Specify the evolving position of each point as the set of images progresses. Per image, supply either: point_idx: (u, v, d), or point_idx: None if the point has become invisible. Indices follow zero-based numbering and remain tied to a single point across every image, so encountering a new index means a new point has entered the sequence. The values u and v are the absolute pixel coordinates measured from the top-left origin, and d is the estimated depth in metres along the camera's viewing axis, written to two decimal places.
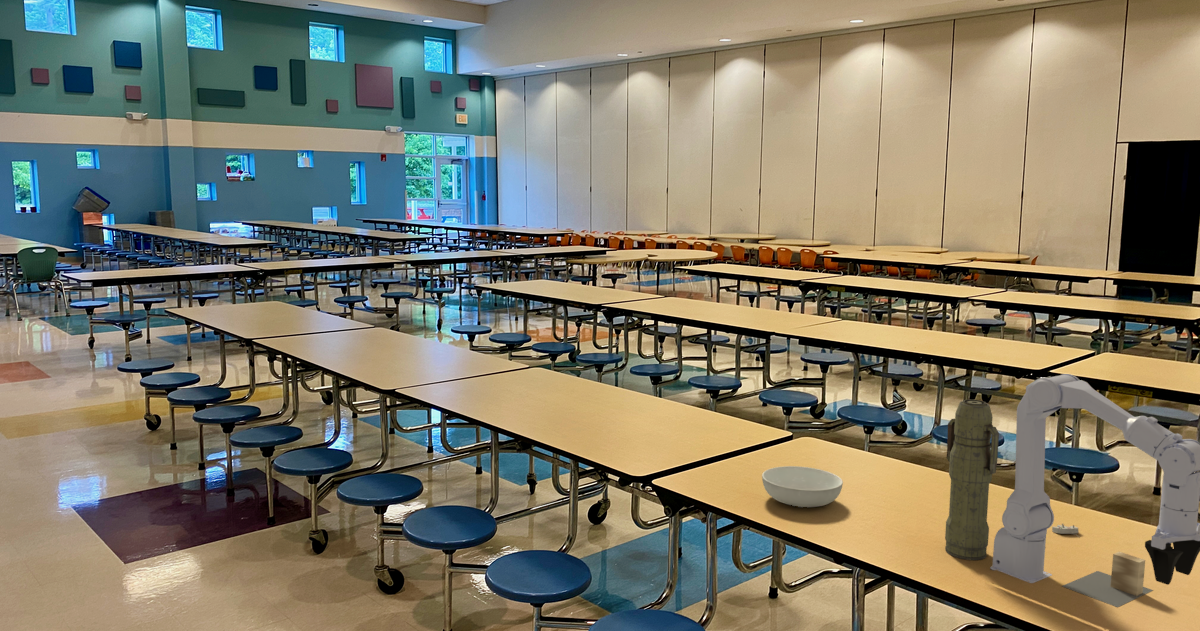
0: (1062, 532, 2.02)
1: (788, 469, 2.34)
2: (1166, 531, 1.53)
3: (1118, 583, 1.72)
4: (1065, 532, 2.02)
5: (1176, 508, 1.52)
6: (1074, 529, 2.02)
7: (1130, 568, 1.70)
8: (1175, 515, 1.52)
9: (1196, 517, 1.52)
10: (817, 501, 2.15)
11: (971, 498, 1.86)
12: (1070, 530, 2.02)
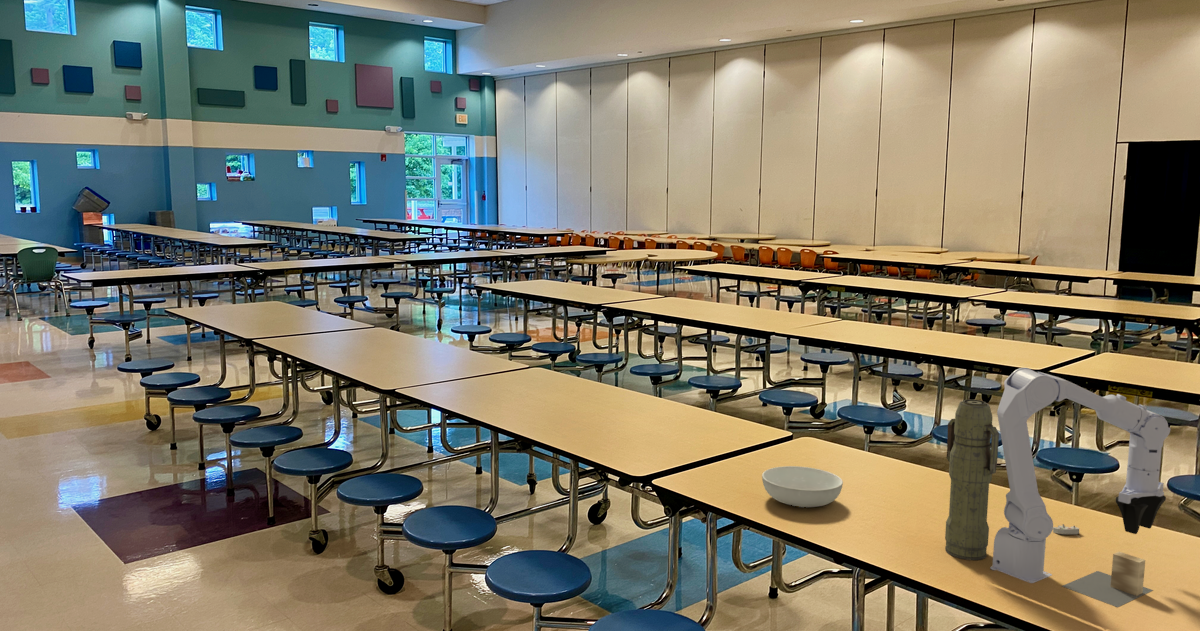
0: (1063, 533, 2.02)
1: (788, 469, 2.34)
2: (1132, 488, 1.76)
3: (1118, 583, 1.72)
4: (1066, 533, 2.02)
5: (1155, 469, 1.74)
6: (1075, 529, 2.02)
7: (1130, 568, 1.70)
8: (1139, 474, 1.75)
9: (1157, 476, 1.74)
10: (817, 501, 2.15)
11: (971, 498, 1.86)
12: (1071, 531, 2.02)
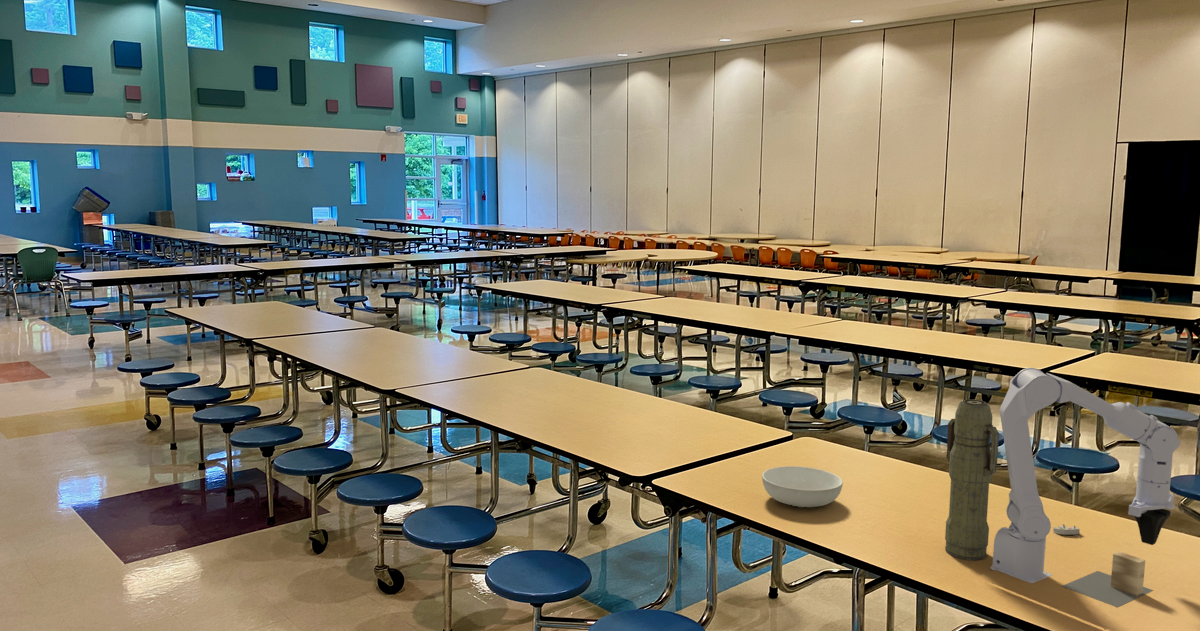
0: (1063, 533, 2.02)
1: (788, 469, 2.34)
2: (1142, 501, 1.73)
3: (1118, 583, 1.72)
4: (1066, 533, 2.02)
5: (1163, 482, 1.70)
6: (1075, 530, 2.02)
7: (1130, 568, 1.70)
8: (1149, 487, 1.71)
9: (1168, 488, 1.71)
10: (817, 501, 2.15)
11: (971, 498, 1.86)
12: (1071, 531, 2.02)
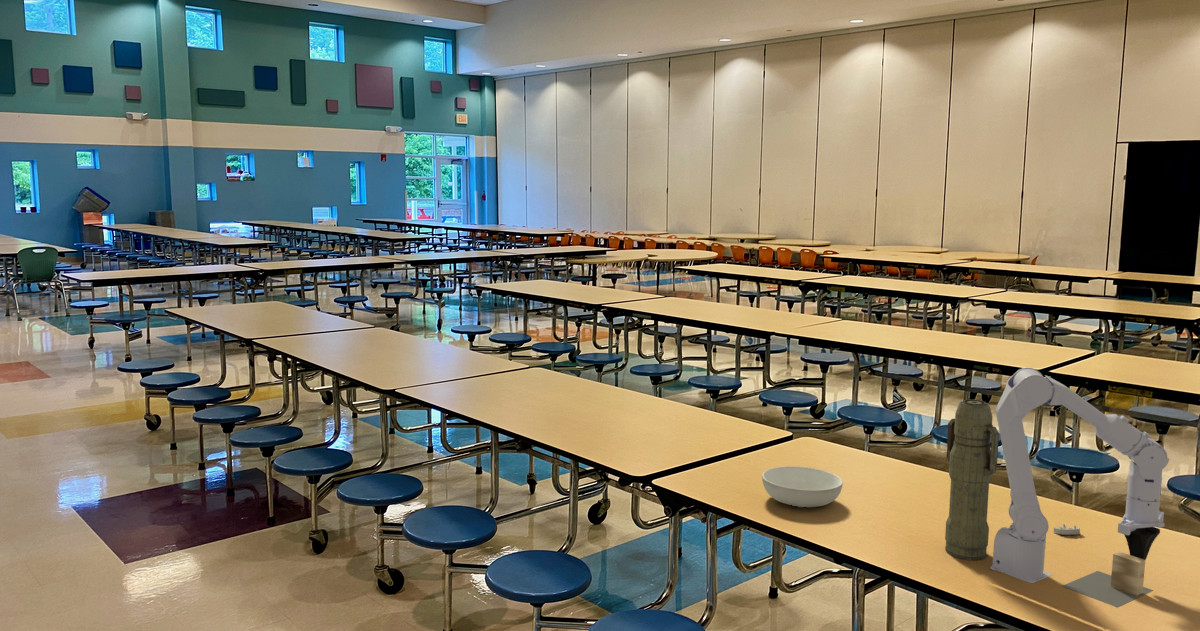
0: (1063, 533, 2.02)
1: (788, 469, 2.34)
2: (1131, 519, 1.71)
3: (1118, 583, 1.72)
4: (1066, 533, 2.02)
5: (1151, 500, 1.69)
6: (1075, 530, 2.02)
7: (1130, 568, 1.70)
8: (1139, 505, 1.70)
9: (1158, 506, 1.69)
10: (817, 501, 2.15)
11: (971, 498, 1.86)
12: (1071, 531, 2.02)
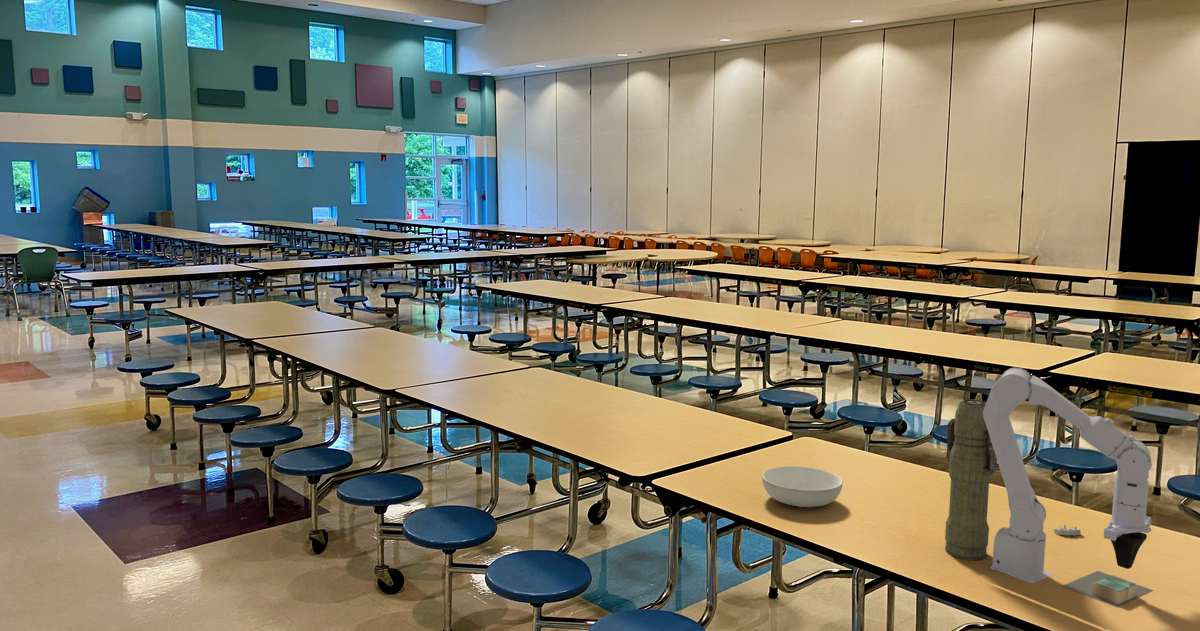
0: (1064, 534, 2.02)
1: (788, 469, 2.34)
2: (1118, 524, 1.68)
3: None
4: (1067, 534, 2.01)
5: (1134, 504, 1.66)
6: (1076, 531, 2.02)
7: None
8: (1125, 510, 1.67)
9: (1144, 511, 1.67)
10: (817, 501, 2.15)
11: (971, 498, 1.86)
12: (1072, 532, 2.01)
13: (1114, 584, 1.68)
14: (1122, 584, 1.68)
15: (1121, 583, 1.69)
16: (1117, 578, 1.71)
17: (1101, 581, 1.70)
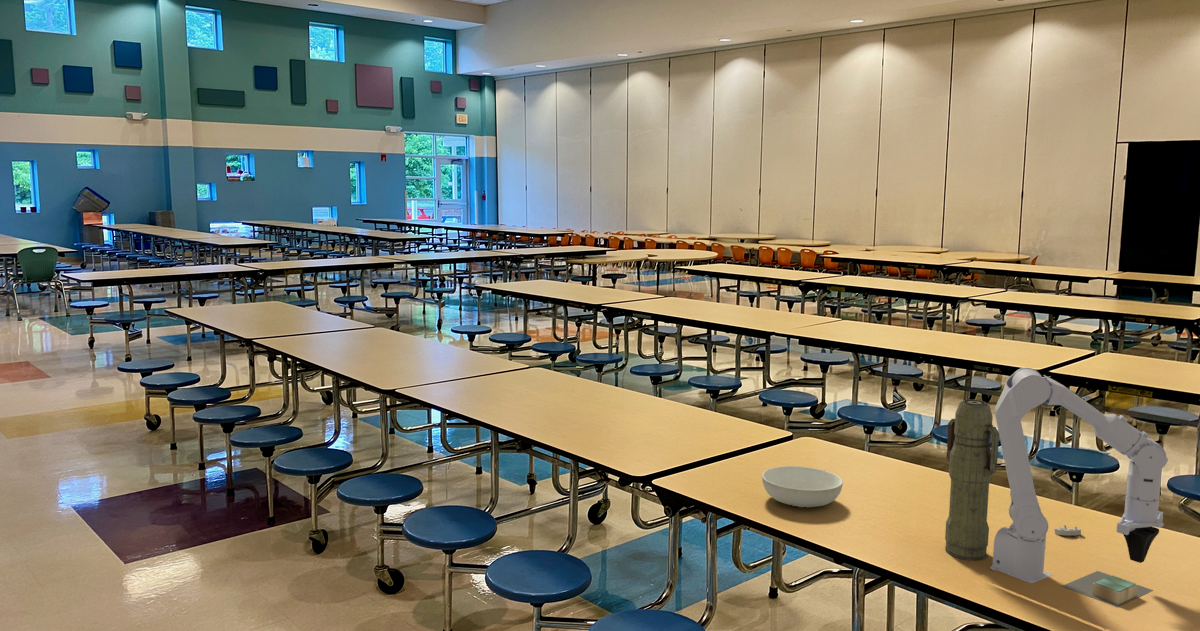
0: (1064, 534, 2.01)
1: (788, 469, 2.34)
2: (1130, 519, 1.71)
3: None
4: (1067, 534, 2.01)
5: (1150, 499, 1.69)
6: (1076, 531, 2.01)
7: None
8: (1138, 504, 1.70)
9: (1157, 506, 1.69)
10: (817, 501, 2.15)
11: (971, 498, 1.86)
12: (1072, 532, 2.01)
13: (1114, 584, 1.68)
14: (1122, 584, 1.68)
15: (1121, 583, 1.69)
16: (1117, 578, 1.71)
17: (1101, 581, 1.70)
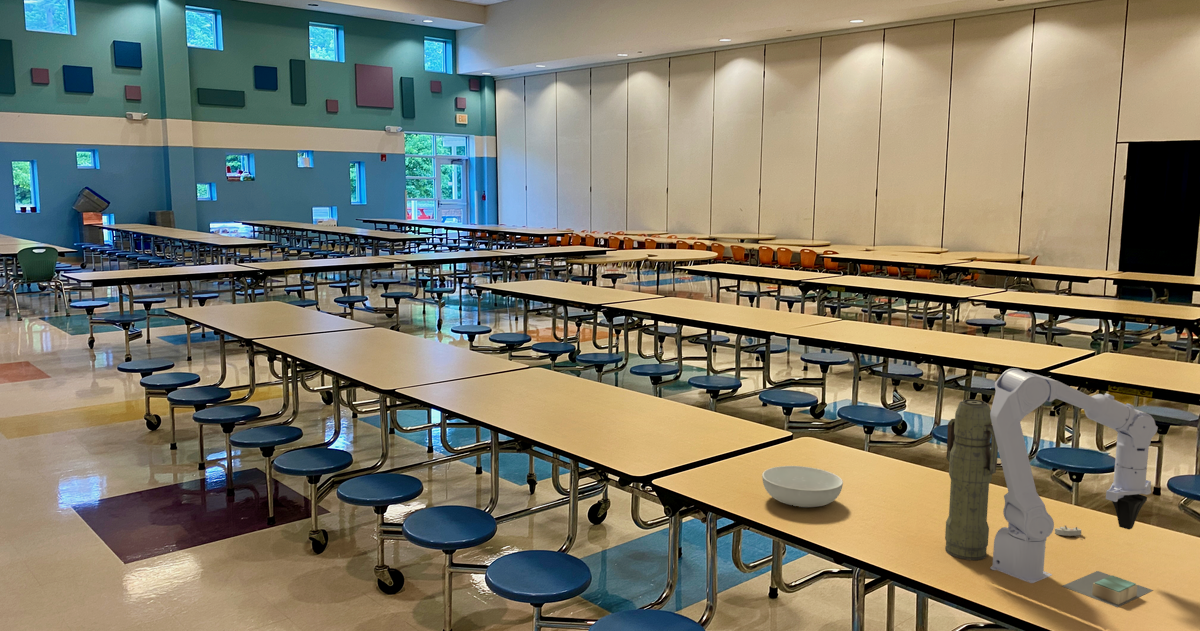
0: (1065, 534, 2.01)
1: (789, 469, 2.34)
2: (1119, 487, 1.77)
3: None
4: (1068, 534, 2.01)
5: (1142, 467, 1.75)
6: (1077, 531, 2.01)
7: None
8: (1127, 473, 1.76)
9: (1145, 474, 1.75)
10: (817, 501, 2.15)
11: (971, 498, 1.86)
12: (1073, 532, 2.01)
13: (1114, 584, 1.68)
14: (1122, 584, 1.68)
15: (1121, 583, 1.69)
16: (1117, 578, 1.71)
17: (1101, 581, 1.70)
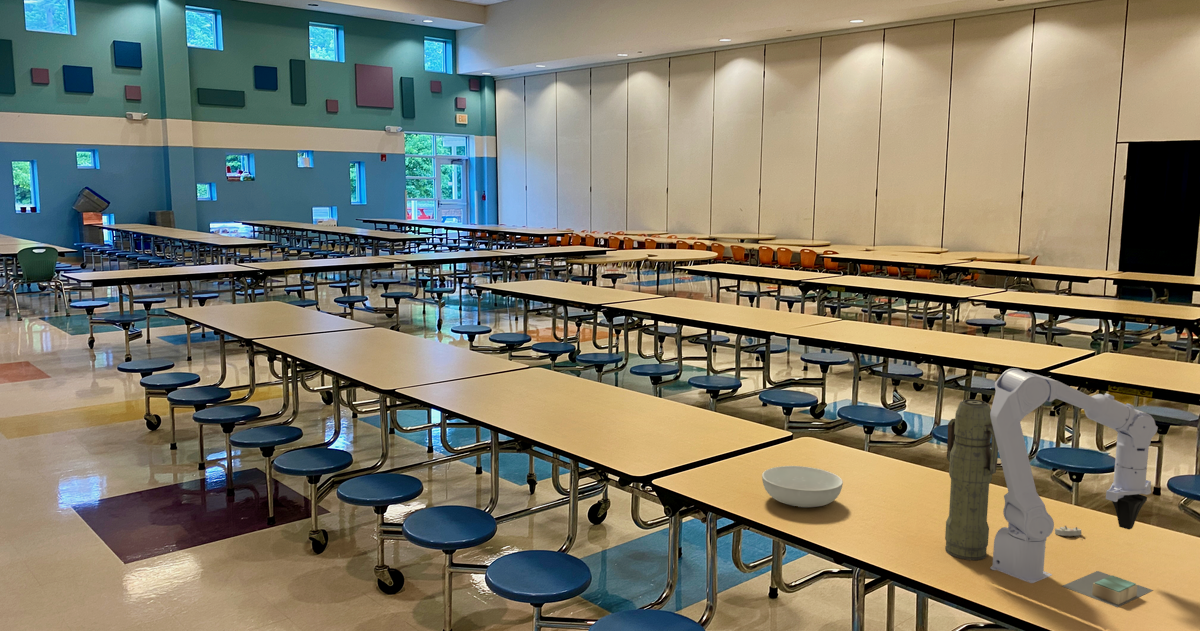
0: (1065, 534, 2.01)
1: (789, 469, 2.34)
2: (1119, 487, 1.77)
3: None
4: (1068, 534, 2.01)
5: (1142, 467, 1.75)
6: (1077, 531, 2.01)
7: None
8: (1127, 473, 1.76)
9: (1145, 474, 1.75)
10: (817, 501, 2.15)
11: (971, 498, 1.86)
12: (1073, 532, 2.01)
13: (1114, 584, 1.68)
14: (1122, 584, 1.68)
15: (1121, 583, 1.69)
16: (1117, 578, 1.71)
17: (1101, 581, 1.70)
